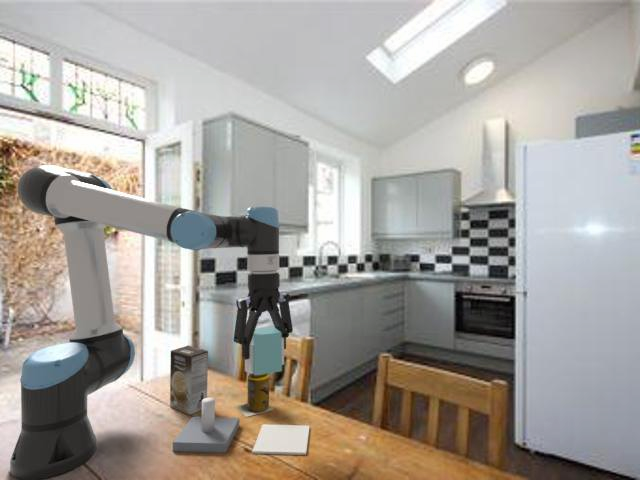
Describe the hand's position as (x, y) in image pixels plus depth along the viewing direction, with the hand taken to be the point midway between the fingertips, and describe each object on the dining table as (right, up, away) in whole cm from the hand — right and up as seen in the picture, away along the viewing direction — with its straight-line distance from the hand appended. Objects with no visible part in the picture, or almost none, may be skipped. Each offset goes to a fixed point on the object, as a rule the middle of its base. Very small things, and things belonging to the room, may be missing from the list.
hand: (265, 367), depth 89 cm
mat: (+4, -17, 0) cm, 18 cm away
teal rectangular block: (0, 0, 0) cm, 0 cm away
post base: (-14, -17, +1) cm, 22 cm away
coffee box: (-24, -17, +17) cm, 34 cm away
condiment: (-5, -17, +16) cm, 24 cm away
